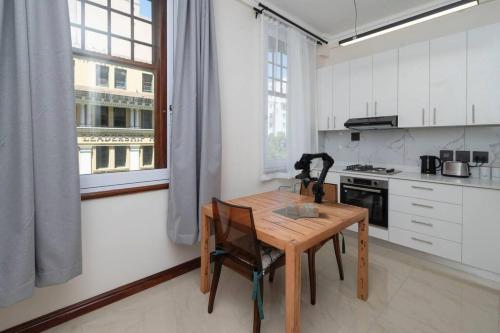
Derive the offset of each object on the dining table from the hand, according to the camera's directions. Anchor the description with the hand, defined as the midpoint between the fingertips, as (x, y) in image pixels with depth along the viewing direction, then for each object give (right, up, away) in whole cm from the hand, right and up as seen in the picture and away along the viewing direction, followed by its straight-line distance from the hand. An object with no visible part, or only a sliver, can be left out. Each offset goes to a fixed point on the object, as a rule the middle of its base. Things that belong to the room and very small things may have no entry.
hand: (305, 188), depth 193 cm
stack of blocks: (-8, -12, -18) cm, 23 cm away
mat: (-16, -16, -21) cm, 31 cm away
